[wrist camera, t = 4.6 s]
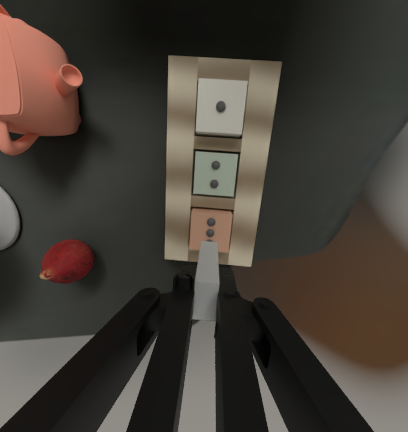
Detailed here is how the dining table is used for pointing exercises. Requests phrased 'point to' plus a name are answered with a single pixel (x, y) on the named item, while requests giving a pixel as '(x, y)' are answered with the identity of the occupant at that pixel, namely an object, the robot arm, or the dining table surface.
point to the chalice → (8, 220)
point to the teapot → (34, 86)
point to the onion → (67, 262)
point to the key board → (244, 146)
